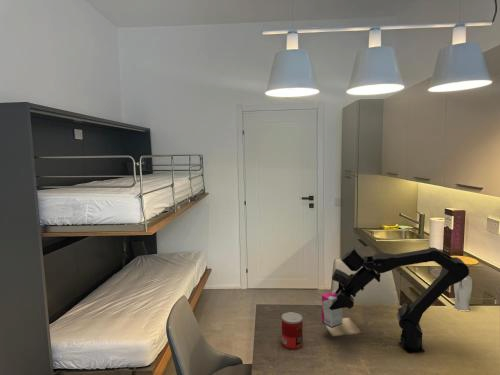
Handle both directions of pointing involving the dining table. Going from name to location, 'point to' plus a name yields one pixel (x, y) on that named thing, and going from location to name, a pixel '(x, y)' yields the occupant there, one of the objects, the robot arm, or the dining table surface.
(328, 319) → the supplement box
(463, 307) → the beer glass
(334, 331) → the oak board
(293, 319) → the canned food
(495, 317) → the dining table surface
